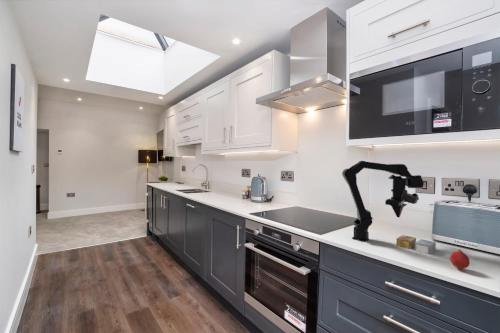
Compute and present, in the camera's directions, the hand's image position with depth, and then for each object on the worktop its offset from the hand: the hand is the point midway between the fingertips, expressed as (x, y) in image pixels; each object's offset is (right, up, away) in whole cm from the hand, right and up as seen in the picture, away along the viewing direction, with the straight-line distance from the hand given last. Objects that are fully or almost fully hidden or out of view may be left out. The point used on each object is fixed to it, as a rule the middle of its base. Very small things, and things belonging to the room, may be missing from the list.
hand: (398, 217), depth 126 cm
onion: (+4, -14, -32) cm, 35 cm away
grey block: (+2, -12, -15) cm, 19 cm away
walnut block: (-3, -11, -8) cm, 14 cm away
